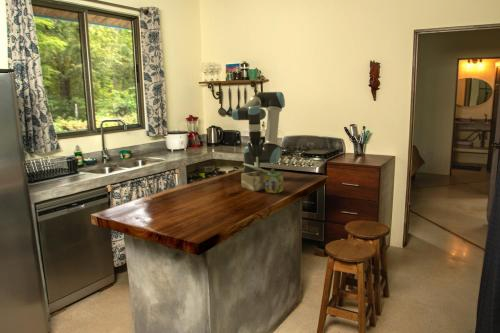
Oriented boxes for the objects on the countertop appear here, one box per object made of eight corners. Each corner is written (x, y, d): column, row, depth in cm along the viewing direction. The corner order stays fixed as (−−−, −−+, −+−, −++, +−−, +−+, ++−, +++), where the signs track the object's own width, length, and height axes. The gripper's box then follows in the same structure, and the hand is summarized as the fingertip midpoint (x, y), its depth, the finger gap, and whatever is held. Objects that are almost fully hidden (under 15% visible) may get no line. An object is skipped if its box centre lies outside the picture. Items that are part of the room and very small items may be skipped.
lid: (259, 170, 266) (259, 169, 266) (271, 174, 255) (271, 172, 255) (242, 164, 258) (242, 163, 258) (254, 167, 247) (254, 166, 247)
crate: (258, 184, 268) (258, 171, 266) (271, 187, 256) (270, 174, 254) (241, 187, 260) (241, 174, 259) (253, 191, 249) (252, 177, 247)
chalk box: (278, 194, 241) (277, 170, 238) (264, 192, 245) (264, 169, 242) (284, 190, 249) (283, 167, 246) (270, 189, 253) (270, 166, 250)
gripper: (259, 129, 258) (261, 164, 262) (243, 131, 251) (245, 167, 255) (266, 130, 252) (267, 166, 256) (249, 132, 245) (251, 169, 249)
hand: (256, 166), depth 256 cm, fingers closed
